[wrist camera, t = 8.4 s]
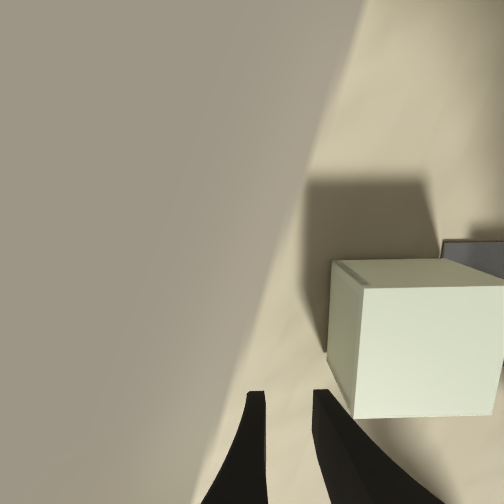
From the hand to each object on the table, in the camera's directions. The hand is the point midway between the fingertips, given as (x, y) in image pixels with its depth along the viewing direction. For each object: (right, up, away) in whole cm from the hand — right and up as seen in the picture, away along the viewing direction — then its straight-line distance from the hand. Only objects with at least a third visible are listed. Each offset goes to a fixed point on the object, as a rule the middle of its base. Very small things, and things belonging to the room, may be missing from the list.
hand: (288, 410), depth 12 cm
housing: (+8, +2, +9) cm, 13 cm away
